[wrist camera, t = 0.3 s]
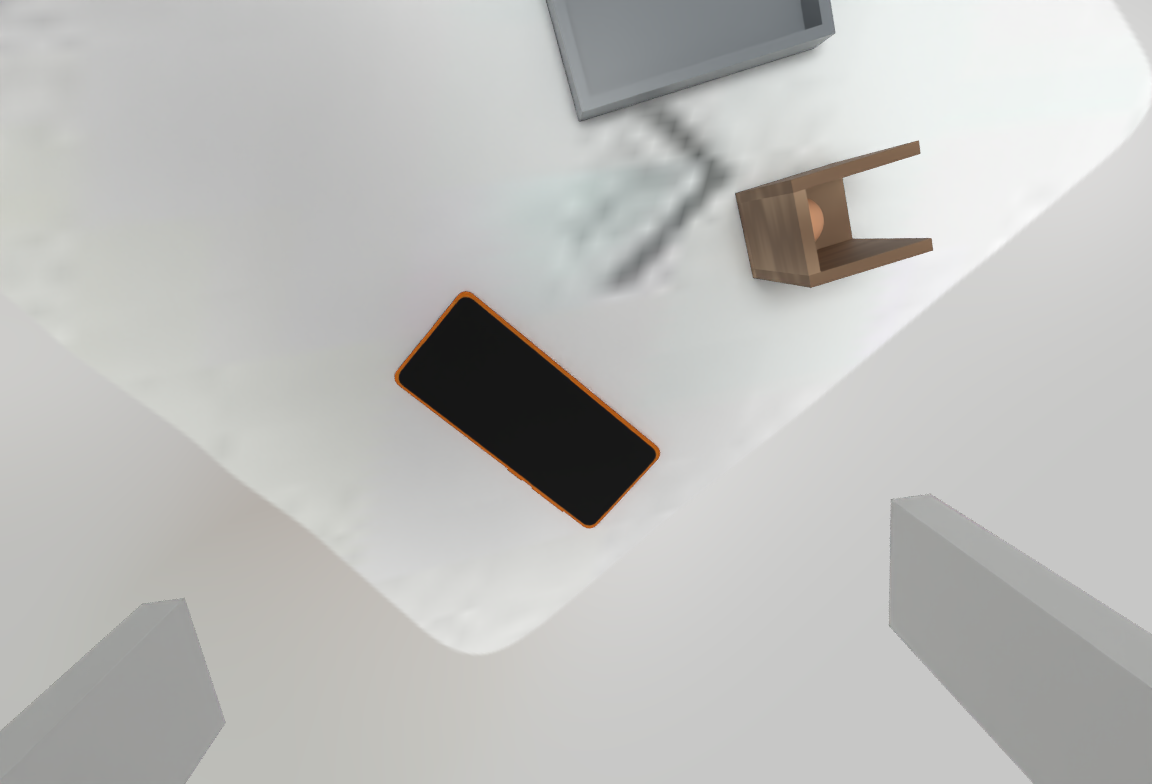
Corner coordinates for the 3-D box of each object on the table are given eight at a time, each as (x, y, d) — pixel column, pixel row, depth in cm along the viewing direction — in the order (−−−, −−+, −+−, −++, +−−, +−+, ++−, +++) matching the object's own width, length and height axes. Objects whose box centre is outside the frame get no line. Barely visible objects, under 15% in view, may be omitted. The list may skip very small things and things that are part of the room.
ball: (755, 207, 35) (776, 203, 32) (803, 192, 35) (828, 187, 32) (765, 256, 35) (787, 257, 33) (812, 242, 35) (838, 242, 33)
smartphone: (465, 286, 36) (463, 287, 35) (662, 449, 39) (664, 453, 38) (391, 378, 37) (387, 381, 36) (588, 528, 40) (589, 534, 40)
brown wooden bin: (735, 193, 35) (790, 179, 27) (834, 162, 35) (918, 140, 27) (753, 277, 36) (811, 287, 29) (848, 248, 36) (933, 250, 29)
